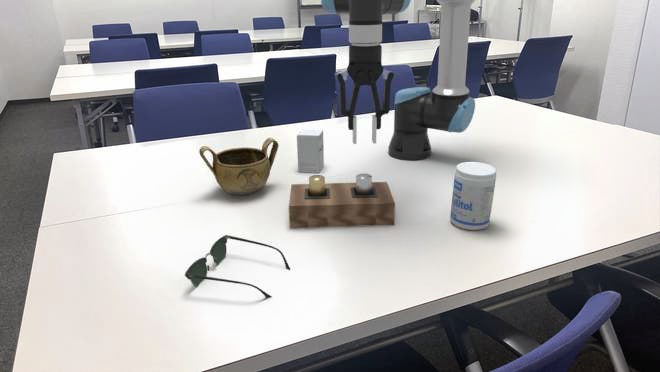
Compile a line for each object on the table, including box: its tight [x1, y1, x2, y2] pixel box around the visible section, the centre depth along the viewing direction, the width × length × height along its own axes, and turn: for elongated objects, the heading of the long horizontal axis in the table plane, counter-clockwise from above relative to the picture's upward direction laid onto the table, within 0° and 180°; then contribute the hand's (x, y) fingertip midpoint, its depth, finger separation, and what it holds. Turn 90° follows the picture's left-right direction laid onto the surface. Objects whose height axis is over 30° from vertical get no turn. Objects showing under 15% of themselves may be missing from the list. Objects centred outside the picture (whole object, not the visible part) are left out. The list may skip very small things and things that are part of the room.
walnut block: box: [288, 181, 396, 229], centre depth 123 cm, size 26×14×6 cm, turn 92°
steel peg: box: [355, 173, 373, 196], centre depth 122 cm, size 4×4×6 cm
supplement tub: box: [449, 161, 497, 231], centre depth 116 cm, size 10×10×15 cm
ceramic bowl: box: [198, 137, 279, 196], centre depth 138 cm, size 22×17×15 cm
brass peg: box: [308, 174, 326, 197], centre depth 121 cm, size 4×4×6 cm
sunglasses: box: [184, 234, 291, 298], centre depth 97 cm, size 16×17×5 cm
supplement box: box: [296, 128, 325, 174], centre depth 154 cm, size 7×7×13 cm
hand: (364, 141), depth 117 cm, fingers open, 4 cm apart
